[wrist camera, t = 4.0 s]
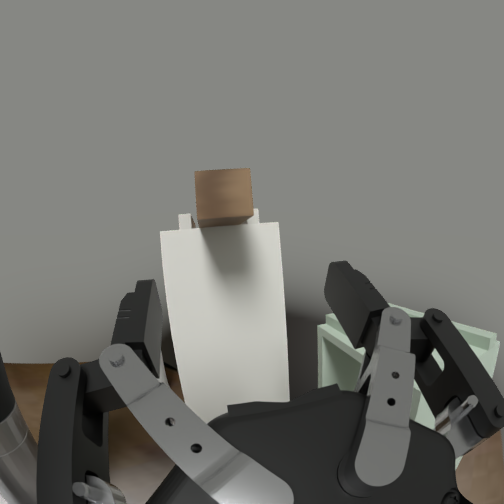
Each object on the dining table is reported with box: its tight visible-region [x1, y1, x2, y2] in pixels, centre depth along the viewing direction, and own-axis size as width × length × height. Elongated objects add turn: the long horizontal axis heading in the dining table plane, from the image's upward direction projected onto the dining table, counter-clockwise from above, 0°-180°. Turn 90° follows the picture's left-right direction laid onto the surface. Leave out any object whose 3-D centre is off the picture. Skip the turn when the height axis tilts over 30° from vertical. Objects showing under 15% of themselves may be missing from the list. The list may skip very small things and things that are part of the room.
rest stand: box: [318, 303, 500, 470], centre depth 20 cm, size 10×16×22 cm, turn 10°
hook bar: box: [195, 168, 254, 228], centre depth 31 cm, size 4×24×5 cm, turn 10°
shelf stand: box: [160, 209, 290, 424], centre depth 34 cm, size 12×14×34 cm
